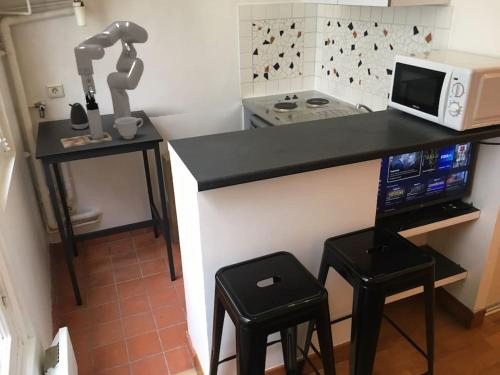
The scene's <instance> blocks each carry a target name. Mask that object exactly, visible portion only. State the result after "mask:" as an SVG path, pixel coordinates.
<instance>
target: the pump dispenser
mask: <svg viewBox="0 0 500 375" xmlns="http://www.w3.org/2000/svg"><path fill="white" fill-rule="evenodd" d="M68 106H70V107H71V108H70V114H69V115H70V116H69V120H70V124H71V126H72V127H73V128H74V129H75V130H84V129H86V128H87V127H88V126H89V120H88V115H87V110H86V109H85V107H84V106H83V105H82V104H81V103H80V102H74V103H73V104H72V103H68Z"/></svg>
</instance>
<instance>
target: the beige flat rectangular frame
mask: <svg viewBox="0 0 500 375" xmlns="http://www.w3.org/2000/svg"><path fill="white" fill-rule="evenodd" d="M103 135H104V136H105V137H104V139H98V140H92V139H91V140H90V138H92V136H91V134H85V135H81V136H75V137H74V136H73V137H69V138H68V137H67V138H61V139H60V142H61V145H62V147H63V148H64V149H68V148H72V147H80V146H84V145H92V144H96V143H102V142H103V143H104V142H108V141H113V137H112V136H111V135H110V134H109V133H108V132H107V131H105V132H104V131H103Z"/></svg>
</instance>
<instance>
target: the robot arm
mask: <svg viewBox="0 0 500 375" xmlns="http://www.w3.org/2000/svg"><path fill="white" fill-rule="evenodd" d="M148 39H149V34H148V31H147V30H146V29H145V27H143V26H141V25H139V24H138V23H137V24H136V23H135V22H133V21H130V20H115V21H113V22H112V23H110V25H109V26H107V27H106V28H105V29H104V30H102V31H100V32H99V33H96V34H94V35H92V36H89V37H87V38H85V39H84V40H82V41H81V42H80V43H79V44H78V45H77V46H75V47H74V49H73V52H74V57H75V58H74V59H75V63H76V68H77V69H76V71H77V75H78V76H80V79H81V85H82V90H83V93H84V98H85V103H86V104H89V105H90V107H96V103H97V102H96V97H95V95H96V94H97V88H96V85H95V80H94V73H95V72H94V66H93V60H96V61H97V60H102V59H103V58H104V57H105V55H106V51H105V49H107V48H111V47H113V46H114V45H115V44H116V43H117V42H118V41H119V40H120V42H121V47H122V50H121V53H120V55H119V57H118V59H117V61H116V65H115V69H116V71H113V72H110V73H108V74H107V76H106V83H107V86H108V88H109V92H110V93H109V94H110V96H111V97H110V98H111V104H112V109H113V115H114V124H113V125H112V126H113V129H116V130H118V126H117V124H116V122H115V120H116V119H119V118H123V117H132V112H131V106H130V105H131V104H130V98H129V94H128V91H133V90H136V89H137V87H138V85H139V83H140V80H141V78H142V76H143V74H144V70H145V66H144V65H145V64H144V61H143V60H142V59H141V58H139V57H137V56H138V53H137V49H136V47H135V46H134V44H145V43H146V42H148ZM136 118H137V117H136ZM138 118H139V117H138ZM138 118H137V119H138ZM139 122H141V120H139Z"/></svg>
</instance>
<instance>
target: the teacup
mask: <svg viewBox="0 0 500 375" xmlns="http://www.w3.org/2000/svg"><path fill="white" fill-rule="evenodd" d="M139 120H140V121H139ZM115 122H116V123H115ZM139 122H140V124H139V125H137V124H138V123H139ZM114 123H115V124H117V126H118V129H117V130H118V133H119V135H120V136H122V137H123V139H124V140H130V139H134V138H135V135H136V134H137V132H138V128H140V127H141V126H143V124H144V120H143V118H141V117H138V119H137V117H134V116H131V117H123V118H119V119H116V120H115V119H114Z"/></svg>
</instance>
